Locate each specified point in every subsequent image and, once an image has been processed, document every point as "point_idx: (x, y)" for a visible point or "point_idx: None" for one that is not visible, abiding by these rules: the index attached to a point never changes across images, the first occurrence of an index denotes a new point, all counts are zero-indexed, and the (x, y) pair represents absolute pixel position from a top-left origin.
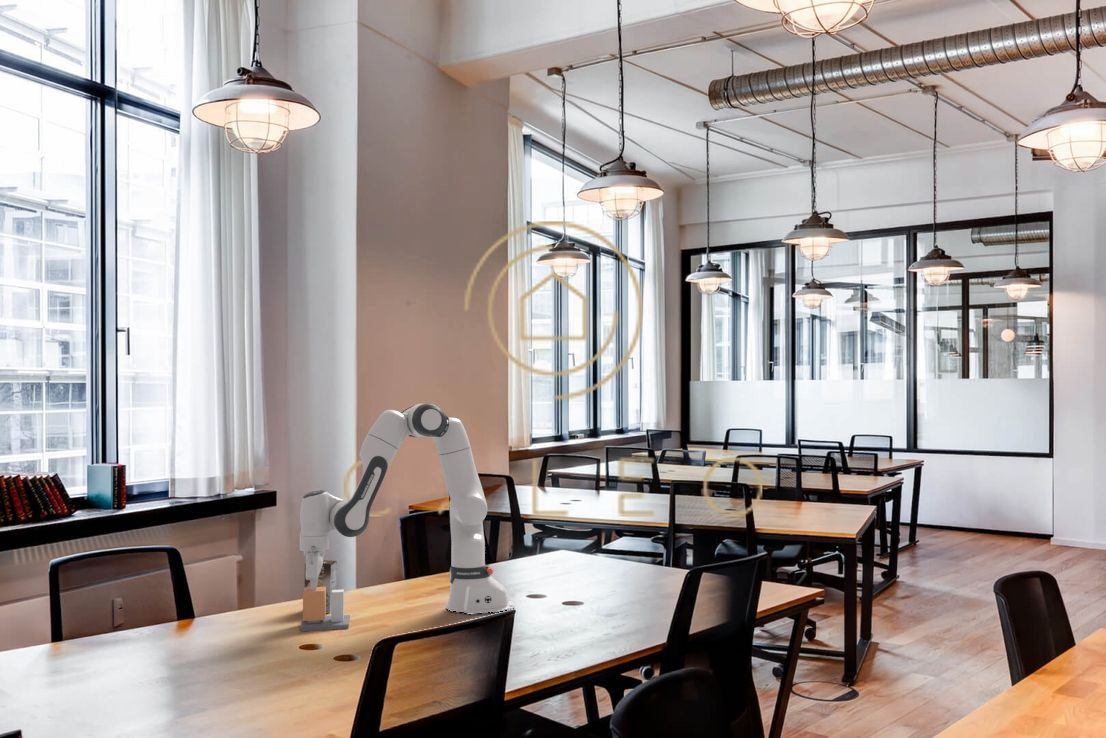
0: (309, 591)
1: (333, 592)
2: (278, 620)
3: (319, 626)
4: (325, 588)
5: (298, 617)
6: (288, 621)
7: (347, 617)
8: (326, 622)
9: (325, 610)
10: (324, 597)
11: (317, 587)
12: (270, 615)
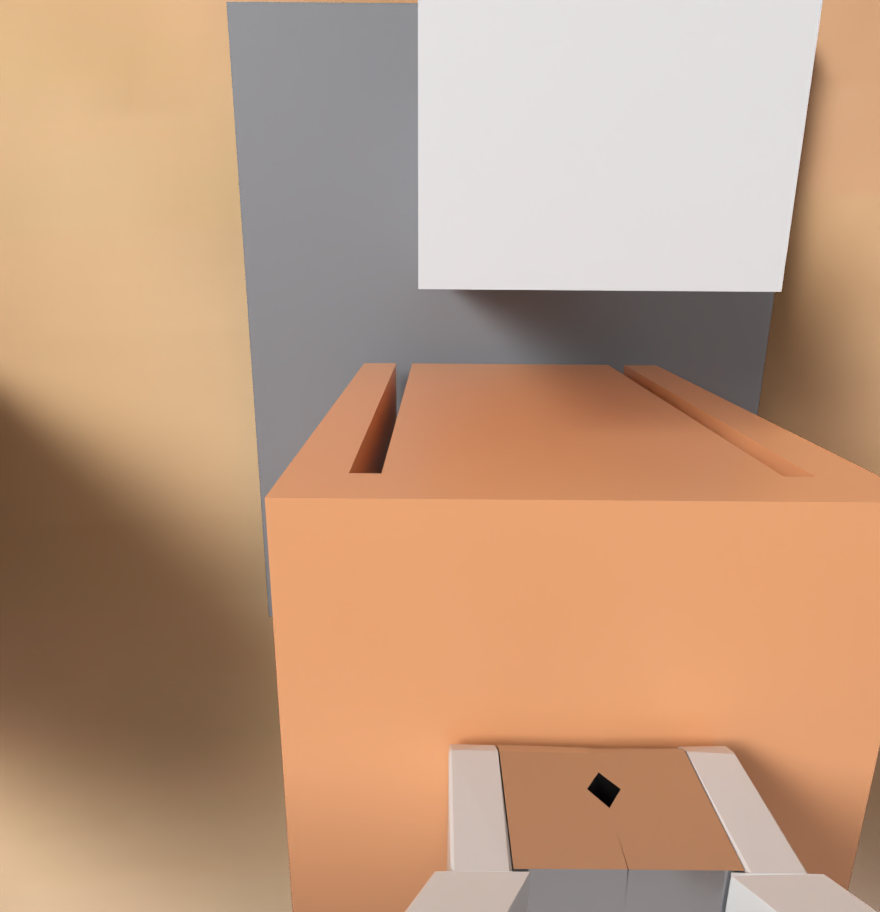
0: (844, 875)
1: (790, 226)
2: (220, 825)
3: (755, 411)
4: (545, 498)
5: (107, 660)
6: (275, 738)
7: (380, 37)
8: (608, 335)
9: (455, 377)
10: (820, 451)
11: (364, 723)
12: (7, 905)
